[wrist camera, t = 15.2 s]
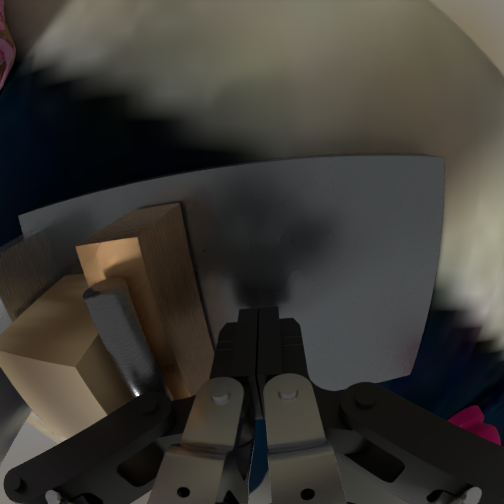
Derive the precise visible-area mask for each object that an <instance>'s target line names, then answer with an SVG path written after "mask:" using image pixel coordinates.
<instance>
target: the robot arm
mask: <svg viewBox="0 0 504 504" xmlns="http://www.w3.org/2000/svg"><path fill="white" fill-rule="evenodd" d="M31 411H32V409H31V408H30V407H29V405H28V404H27V403H26V402H25V400H24V399H23V398H22V397H21V395H20V394H19V393H18V391H17V390H16V388H15V387H14V386H13V384H12V383H11V382H10V380H9V379H8V377H7V376H6V374H5V373H4V371H3V370H2V368H1V367H0V466H1V464H2V462H3V460H4V458H5V456H6V454H7V452H8V451H9V449H10V447H11V445H12V443H13V441H14V440H15V438H16V436H17V435H18V433H19V431H20V429H21V428H22V426H23V425H24V423H25V421H26V420H27V418H28V416H29V415H30V413H31ZM263 413H264V418H265V419H266V429H267V440H268V463H269V475H270V485H271V498H272V503H271V504H355V503H351V502H346V498H345V494H344V490H343V486H342V481H341V478H340V473H339V470H338V465H337V462H336V458H335V456H336V457H338V458H339V459H340V460H342V461H343V462H344V463H346V464H347V465H349V466H350V467H352V468H353V469H355V470H356V471H357V472H359V473H360V474H362V475H364V476H365V477H366V478H368V479H369V480H371V481H372V482H374V483H375V484H377V485H379V486H380V487H382V488H383V489H385V490H387V491H388V492H390V493H392V494H393V495H395V496H397V497H398V498H400V499H402V500H403V501H405V502H407V503H409V504H504V447H503V446H501V445H498V444H496V443H494V442H492V441H489V440H487V439H485V438H483V437H480V436H478V435H476V434H474V433H472V432H470V431H467V430H465V429H463V428H461V427H459V426H457V425H455V424H453V423H451V422H449V421H447V420H445V419H443V418H441V417H439V416H437V415H435V414H433V413H431V412H429V411H427V410H425V409H423V408H421V407H419V406H417V405H415V404H413V403H412V402H410V401H408V400H406V399H404V398H402V397H400V396H398V395H397V394H395V393H393V392H391V391H389V390H387V389H386V388H384V387H382V386H380V385H378V384H376V383H372V382H359V383H356V384H353V385H351V386H349V387H348V388H347V389H346V390H345V391H344V392H339V391H330V390H326V389H322V388H320V387H318V386H317V385H315V384H314V383H313V382H312V381H311V379H310V378H309V375H308V370H307V363H306V357H305V351H304V345H303V339H302V333H301V327H300V324H299V323H298V322H297V321H296V320H295V319H294V318H283V319H279V308H278V306H272V307H260V308H248V309H239V314H238V321H237V322H230V323H226V324H225V325H224V327H223V328H222V329H221V330H220V332H219V336H218V343H217V345H216V351H215V354H214V359H213V364H212V368H211V373H210V377H209V380H208V381H206V382H205V383H204V384H202V385H201V386H200V388H199V389H198V392H197V394H196V395H194V396H191V397H188V398H183V399H178V400H174V401H170V400H169V398H168V397H167V396H166V395H165V394H163V393H160V392H146V393H143V394H140V395H139V396H137V397H135V398H134V399H132V400H131V401H129V402H128V403H126V404H125V405H123V406H121V407H120V408H118V409H117V410H115V411H114V412H112V413H110V414H109V415H107V416H106V417H104V418H102V419H101V420H99V421H97V422H96V423H94V424H92V425H91V426H89V427H87V428H86V429H84V430H82V431H81V432H79V433H77V434H76V435H74V436H72V437H70V438H69V439H67V440H65V441H63V442H62V443H60V444H58V445H57V446H54V447H53V448H51V449H49V450H47V451H45V452H44V453H42V454H40V455H38V456H36V457H34V458H32V459H30V460H28V461H27V462H24V463H23V464H21V465H19V466H17V467H15V468H13V469H11V470H10V471H8V473H7V474H6V476H5V479H4V490H5V493H6V495H7V496H8V497H9V499H10V500H12V501H13V502H15V503H16V504H130V503H132V502H133V501H135V500H136V499H138V498H140V497H141V496H143V495H144V494H146V493H147V492H149V491H150V490H152V491H151V493H150V496H149V499H148V502H147V504H248V500H249V490H248V482H249V475H250V468H251V462H252V455H253V448H254V441H255V435H254V433H255V419H263Z"/></svg>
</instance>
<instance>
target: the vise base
mask: <svg viewBox="0 0 504 504" xmlns="http://www.w3.org/2000/svg"><path fill="white" fill-rule="evenodd" d="M175 203H180V207H181V212H182V217H183V223H184V228H185V233H186V238H187V242H188V247H189V252H190V257H191V261H192V266H193V270H194V275H195V279H196V284H197V288H198V292H199V296H200V300H201V305H202V309H203V313H204V317H205V321H206V324H207V328H208V332H209V336H210V340H211V343H212V347H213V351H214V354H215V351H216V345H217V343H218V336H219V332H220V330H221V329H222V328H223V327H224V325H225V324H226V323H230V322H237V321H238V314H239V309H248V308H260V307H272V306H278V308H279V319H283V318H294V319H295V320H296V321H297V322H298V323H299V324H300V327H301V333H302V339H303V345H304V351H305V357H306V363H307V370H308V375H309V378H310V379H311V381H312V382H313V383H314V384H315V385H317V386H318V387H320V388H322V389H326V390H330V391H337V390H343V389H347V388H348V387H349V386H351V385H353V384H356V383H359V382H372V383H378V382H382V381H387V380H391V379H395V378H399V377H402V376H406V375H410V373H411V370H412V368H413V365H414V362H415V358H416V355H417V352H418V349H419V345H420V342H421V338H422V335H423V331H424V327H425V324H426V320H427V315H428V311H429V307H430V302H431V298H432V293H433V288H434V282H435V277H436V271H437V264H438V258H439V250H440V242H441V232H442V221H443V206H444V157H439V156H433V155H426V154H338V155H318V156H303V157H290V158H279V159H269V160H259V161H250V162H242V163H234V164H227V165H220V166H213V167H207V168H200V169H194V170H188V171H183V172H177V173H172V174H166V175H161V176H156V177H151V178H146V179H142V180H137V181H133V182H128V183H124V184H120V185H115V186H111V187H107V188H103V189H99V190H96V191H92V192H88V193H84V194H81V195H77V196H74V197H70V198H67V199H63V200H60V201H57V202H54V203H50V204H47V205H44V206H41V207H38V208H35V209H33V210H31V211H28V212H26V213H24V214H21V215H19V216H18V217H19V221H20V225H21V228H22V232H23V234H22V235H20V236H19V237H17V238H15V239H13V240H11V241H10V242H8V243H6V244H4V245H3V246H1V247H0V335H1V334H2V333H3V332H4V331H5V330H6V329H7V328H8V327H9V326H10V325H11V324H12V323H13V322H14V321H15V320H16V319H17V318H18V317H19V316H20V315H21V314H22V313H23V312H24V311H25V310H26V309H27V308H28V307H29V306H31V305H32V304H33V303H34V302H35V301H36V300H37V299H38V298H39V297H41V296H42V295H43V294H44V293H45V292H46V291H47V290H48V289H50V288H51V287H52V286H53V285H54V284H55V283H57V282H58V281H59V280H60V279H61V278H63V277H64V276H66V275H77V274H84V272H83V269H82V266H81V263H80V260H79V256H78V253H77V250H76V247H75V246H77V245H78V244H80V243H81V242H83V241H84V240H86V239H87V238H89V237H90V236H92V235H93V234H95V233H96V232H98V231H100V230H101V229H103V228H104V227H106V226H107V225H109V224H111V223H112V222H114V221H116V220H117V219H119V218H120V217H122V216H124V215H125V214H127V213H129V212H130V211H133V210H139V209H145V208H150V207H156V206H162V205H168V204H175Z"/></svg>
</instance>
